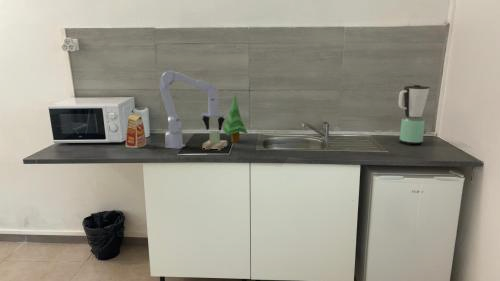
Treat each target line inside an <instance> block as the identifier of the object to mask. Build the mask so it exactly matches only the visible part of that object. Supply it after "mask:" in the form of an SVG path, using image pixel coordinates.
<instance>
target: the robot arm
mask: <svg viewBox="0 0 500 281" xmlns="http://www.w3.org/2000/svg"><path fill="white" fill-rule="evenodd" d="M177 81H179V82H180V81H182V82H184V83H187V84H190V85H192V86H194V88H195V89H196V90H198V91H200V92H203V93H205V94H207V95H208V99H207V100H208V101H207V105H208V108H207V110H208V112H207V113H206V112H203V113H201V114H200V117H201V118H202V119H201V120H202V121H203V124H204V125H205V128H206V130H207V131H208V130H209V129H210V118H216V119H217V122H218V132H220V131H221V130H222V129H223V128H222V127H223V123H224V121H225V119H226V118H227V114H226V113H225V114H224V113H219V94H218V93H219V87H218V86H217V85H215V84H212V83H211V82H207V81H205V80H204V79H200V78H199V79H194V78H192V77H190V76H188V75H185V74H184V73H181V72H179V71H175V70H172V69H170V70H166V71H164V72H163V73H162V75H161V77H160V81H159V85H158V89H159V92H160V95H161V99H162V101H163V105H164V107H165V111H166V115H167V123H168V131H166V132H165V136H164V142H165V146H164V148H165V149H166V148H167V149H168V148H169V149H178V150H180V149H182V148H184V147H186V144H184V143H183V130H182V128H183V122H182V121H181V119H180V117H179V115H177V111H176V108H175V107H176V106H175V104H174V101H173V98H172V95H171V91H170V87H171V85H172V84H173V83H174V82H177Z"/></svg>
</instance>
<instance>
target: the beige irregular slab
mask: <svg viewBox="0 0 500 281" xmlns="http://www.w3.org/2000/svg"><path fill="white" fill-rule="evenodd" d="M224 147H225V148H226V147H228V140H224V139H223V140H222V139H220V142H219V143H217V144H216V143H210V139H208V140H207V141H205V142H203V143H202V149H203V148H205V149H204V150H210V149H218V150H217V151H222V150H223V149H225V148H224ZM222 148H223V149H222ZM221 149H222V150H221Z"/></svg>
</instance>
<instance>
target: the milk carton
mask: <svg viewBox="0 0 500 281" xmlns="http://www.w3.org/2000/svg"><path fill="white" fill-rule="evenodd" d="M126 125H127V126H126V136H125V147H126V148H132V149H135V148H136V149H137V148H141V147H145V146H146V145H147V139H146V133H145V127H144V121H143V118H142V115H141V114H137V113H134V112H130V115H129V116H128V118H127V124H126Z"/></svg>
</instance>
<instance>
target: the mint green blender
mask: <svg viewBox="0 0 500 281" xmlns="http://www.w3.org/2000/svg"><path fill="white" fill-rule="evenodd" d="M430 89H431V88H430V86H422V85H419V84H415V85H408V86H406V85H405V86H404V88H403V90H402V89H401V91H400V92H399V95H398V101H397V102H398V107H399V108H400V109H401V110H404V112H405V115H403V116H402V118H401V123H400V129H399V143H403V144H407V146H411V145H419V144H422V145H423V142H424V134H426V133H427V129H426V127H425V124H426V120H425V117H424V116H423V113H424V109H425V107H426V106H425V105H426V104H427V99H428V95H429V91H430ZM403 99H404V105H403Z"/></svg>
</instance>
